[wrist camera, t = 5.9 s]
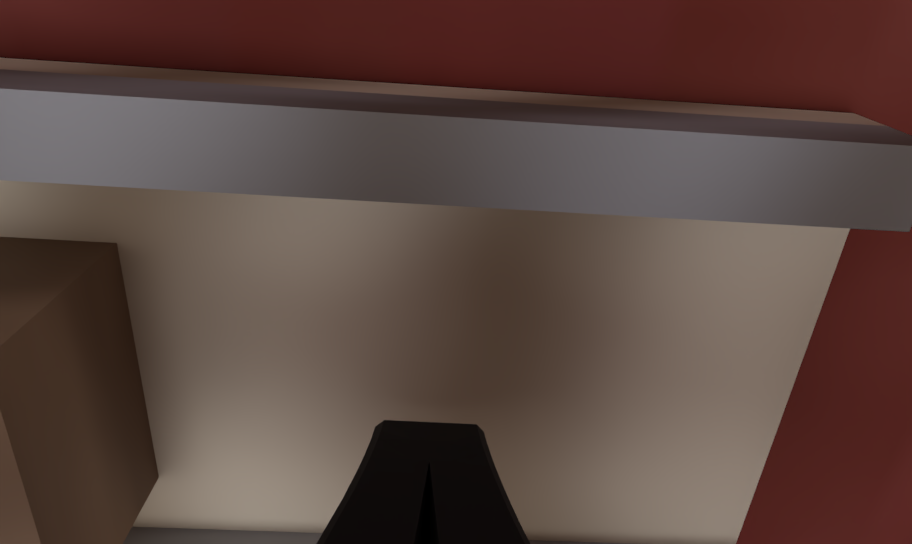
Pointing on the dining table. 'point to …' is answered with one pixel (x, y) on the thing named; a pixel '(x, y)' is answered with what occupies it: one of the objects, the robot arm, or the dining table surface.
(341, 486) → the slot board
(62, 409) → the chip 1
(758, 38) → the dining table surface
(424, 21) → the dining table surface
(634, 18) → the dining table surface
